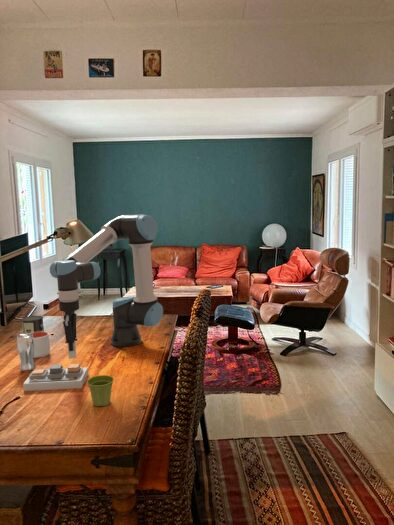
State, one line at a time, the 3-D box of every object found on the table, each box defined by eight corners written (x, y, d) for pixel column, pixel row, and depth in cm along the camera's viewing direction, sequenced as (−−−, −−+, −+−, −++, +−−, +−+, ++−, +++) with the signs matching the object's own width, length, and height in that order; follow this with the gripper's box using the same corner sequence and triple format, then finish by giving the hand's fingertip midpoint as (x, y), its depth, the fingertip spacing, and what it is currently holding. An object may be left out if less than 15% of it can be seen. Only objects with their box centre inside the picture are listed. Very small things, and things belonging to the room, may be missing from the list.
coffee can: (44, 340, 234) (42, 314, 232) (45, 346, 225) (43, 319, 223) (24, 343, 231) (21, 316, 229) (23, 349, 221) (21, 321, 219)
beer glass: (20, 372, 191) (17, 339, 189) (18, 367, 197) (15, 334, 195) (37, 369, 194) (34, 336, 192) (35, 364, 200) (32, 332, 198)
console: (88, 374, 187) (87, 363, 187) (81, 388, 173) (80, 377, 173) (34, 376, 186) (34, 366, 185) (23, 391, 172) (22, 380, 172)
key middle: (62, 368, 181) (62, 364, 181) (60, 372, 177) (59, 368, 177) (52, 368, 181) (52, 364, 181) (50, 372, 177) (49, 368, 177)
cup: (43, 359, 207) (41, 338, 205) (23, 358, 209) (21, 337, 207) (54, 351, 216) (52, 332, 215) (35, 351, 218) (33, 331, 217)
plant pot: (103, 395, 167) (102, 372, 165) (120, 401, 161) (119, 378, 159) (82, 404, 159) (81, 381, 158) (99, 411, 154) (98, 387, 152)
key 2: (80, 367, 181) (79, 363, 181) (78, 371, 178) (77, 367, 177) (70, 367, 181) (69, 364, 181) (67, 371, 177) (67, 367, 177)
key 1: (45, 372, 181) (45, 369, 181) (42, 376, 177) (42, 372, 177) (35, 373, 181) (35, 369, 181) (32, 377, 177) (32, 373, 177)
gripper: (63, 296, 181) (66, 352, 185) (54, 304, 169) (59, 364, 172) (81, 296, 182) (85, 352, 185) (74, 303, 169) (78, 363, 172)
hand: (72, 357), depth 178 cm, fingers closed
